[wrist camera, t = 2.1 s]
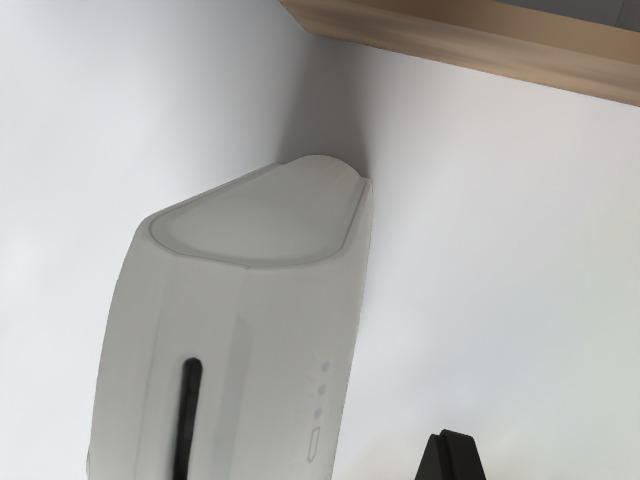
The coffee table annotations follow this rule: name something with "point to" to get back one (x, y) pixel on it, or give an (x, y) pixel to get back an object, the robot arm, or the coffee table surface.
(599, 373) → the coffee table surface
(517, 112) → the coffee table surface
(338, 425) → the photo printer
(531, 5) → the sliding tray
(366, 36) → the walnut housing
